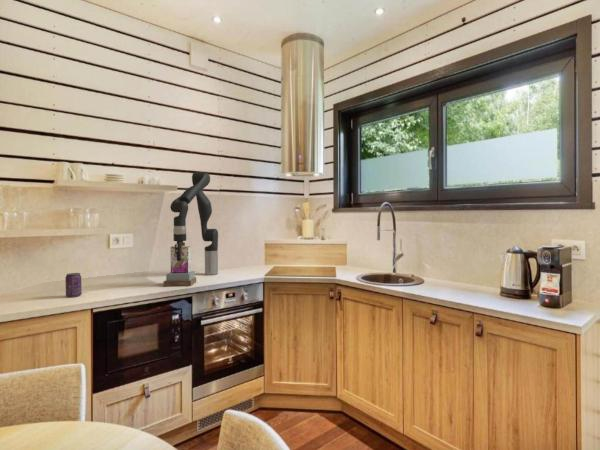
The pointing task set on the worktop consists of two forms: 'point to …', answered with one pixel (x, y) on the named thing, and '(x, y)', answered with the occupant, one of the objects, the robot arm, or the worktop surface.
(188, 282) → the tower base
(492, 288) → the worktop surface
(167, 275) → the tower top
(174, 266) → the candy bar box
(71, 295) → the beverage can
